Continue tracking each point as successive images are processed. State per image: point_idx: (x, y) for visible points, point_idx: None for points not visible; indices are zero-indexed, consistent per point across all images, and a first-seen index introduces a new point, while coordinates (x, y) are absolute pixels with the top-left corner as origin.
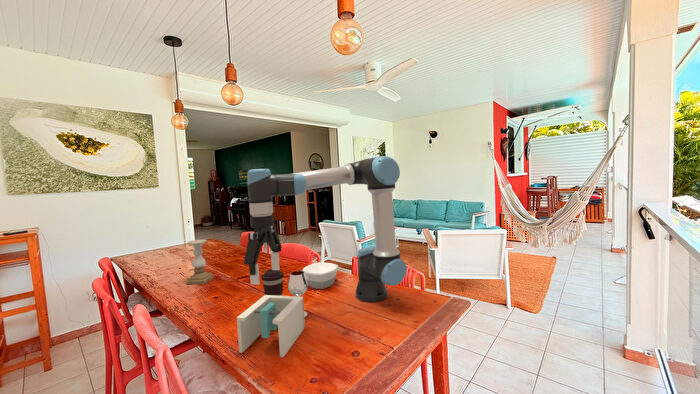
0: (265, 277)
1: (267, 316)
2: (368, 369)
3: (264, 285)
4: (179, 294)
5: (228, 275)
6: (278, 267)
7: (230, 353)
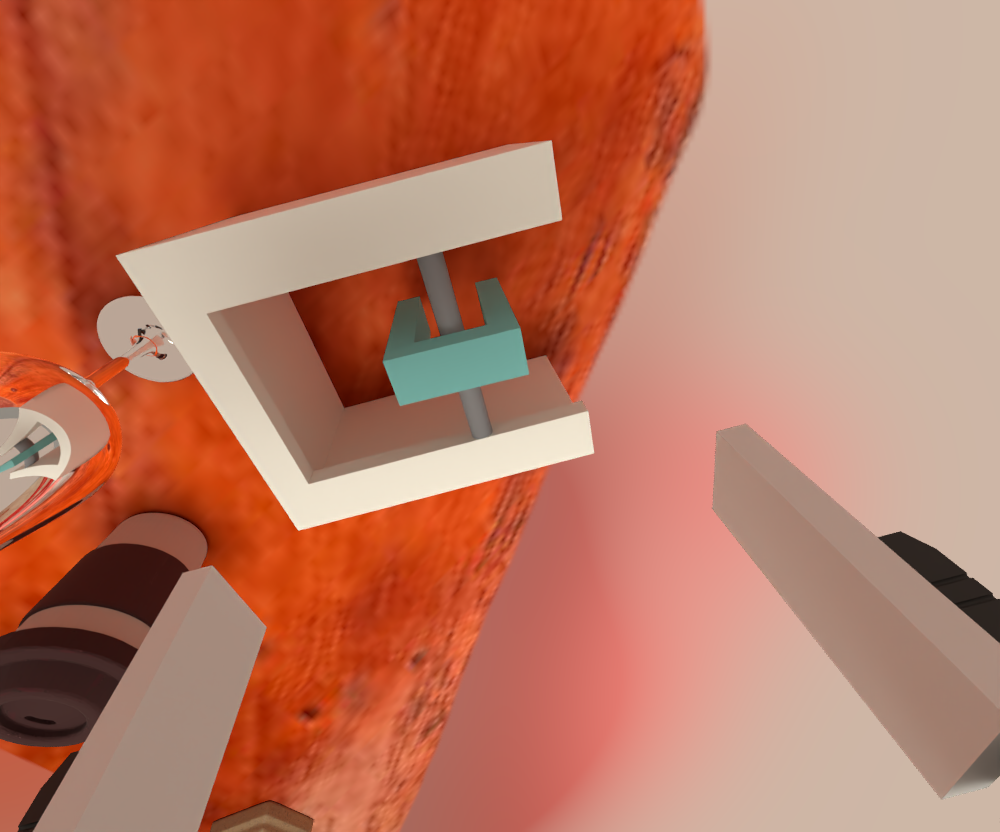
0: None
1: (504, 315)
2: None
3: None
4: (368, 783)
5: None
6: (193, 603)
7: None
